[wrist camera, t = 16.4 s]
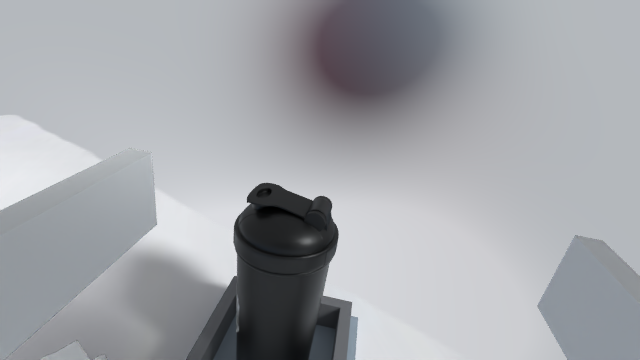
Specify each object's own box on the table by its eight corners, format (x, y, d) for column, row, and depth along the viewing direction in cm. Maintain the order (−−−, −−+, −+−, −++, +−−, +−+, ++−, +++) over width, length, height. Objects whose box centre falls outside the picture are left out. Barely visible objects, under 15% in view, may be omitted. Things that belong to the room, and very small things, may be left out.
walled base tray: (356, 322, 51) (363, 296, 49) (345, 482, 33) (354, 453, 31) (227, 293, 53) (228, 267, 51) (149, 430, 35) (145, 399, 33)
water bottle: (248, 322, 48) (259, 167, 38) (321, 342, 46) (350, 186, 37) (212, 390, 38) (214, 209, 29) (301, 418, 37) (334, 237, 28)
